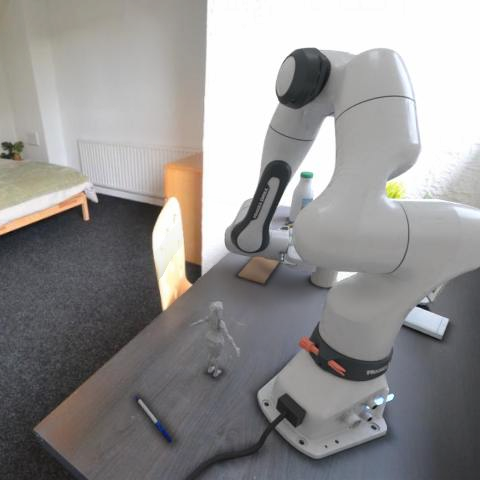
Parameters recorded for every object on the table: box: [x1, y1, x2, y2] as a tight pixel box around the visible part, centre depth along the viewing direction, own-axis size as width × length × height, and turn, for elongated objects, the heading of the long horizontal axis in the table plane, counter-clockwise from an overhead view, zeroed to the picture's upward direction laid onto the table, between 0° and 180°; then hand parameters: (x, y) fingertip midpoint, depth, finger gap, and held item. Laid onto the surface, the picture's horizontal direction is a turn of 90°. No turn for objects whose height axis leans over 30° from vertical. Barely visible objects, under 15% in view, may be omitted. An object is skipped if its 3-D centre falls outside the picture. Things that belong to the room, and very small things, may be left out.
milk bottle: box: [288, 171, 315, 221], centre depth 133 cm, size 8×8×20 cm
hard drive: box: [402, 306, 450, 340], centre depth 82 cm, size 2×8×12 cm
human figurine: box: [189, 300, 243, 378], centre depth 64 cm, size 12×4×18 cm, turn 45°
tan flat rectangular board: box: [237, 256, 280, 285], centre depth 105 cm, size 18×8×1 cm, turn 146°
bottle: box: [310, 267, 339, 288], centre depth 93 cm, size 6×6×18 cm
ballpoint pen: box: [135, 396, 173, 443], centre depth 60 cm, size 10×1×1 cm, turn 38°
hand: (332, 253), depth 93 cm, fingers closed on bottle, 6 cm apart
